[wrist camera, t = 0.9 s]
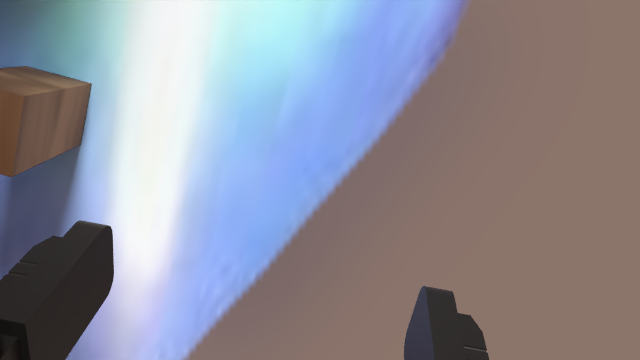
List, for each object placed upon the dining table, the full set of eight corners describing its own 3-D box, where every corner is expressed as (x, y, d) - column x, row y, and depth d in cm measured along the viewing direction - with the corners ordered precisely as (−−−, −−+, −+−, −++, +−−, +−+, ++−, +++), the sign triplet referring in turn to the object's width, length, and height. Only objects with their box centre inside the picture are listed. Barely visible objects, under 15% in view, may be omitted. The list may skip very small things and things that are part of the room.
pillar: (16, 128, 38) (-76, 156, 28) (26, 66, 37) (-67, 72, 27) (80, 144, 38) (11, 177, 29) (91, 83, 37) (24, 96, 28)
